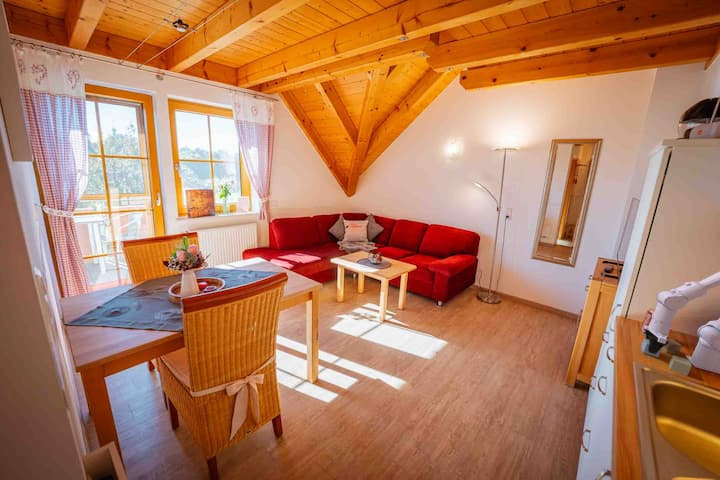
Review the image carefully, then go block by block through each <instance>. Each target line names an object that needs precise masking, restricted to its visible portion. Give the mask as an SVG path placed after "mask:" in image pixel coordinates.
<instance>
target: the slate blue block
mask: <svg viewBox="0 0 720 480" xmlns="http://www.w3.org/2000/svg"><path fill="white" fill-rule="evenodd" d="M648 348H649V340H648V339H646V338H644V339H643V341H642V343H641V346H640V350H641V352H642V354H646V355H648V356H652V357H655V358H659V357H660V355H661V351H662V350H661V349H662V348H661V349H660V350H659V351H658V352H657V353H656V354H653V353H650V352H649V351H648Z"/></svg>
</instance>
